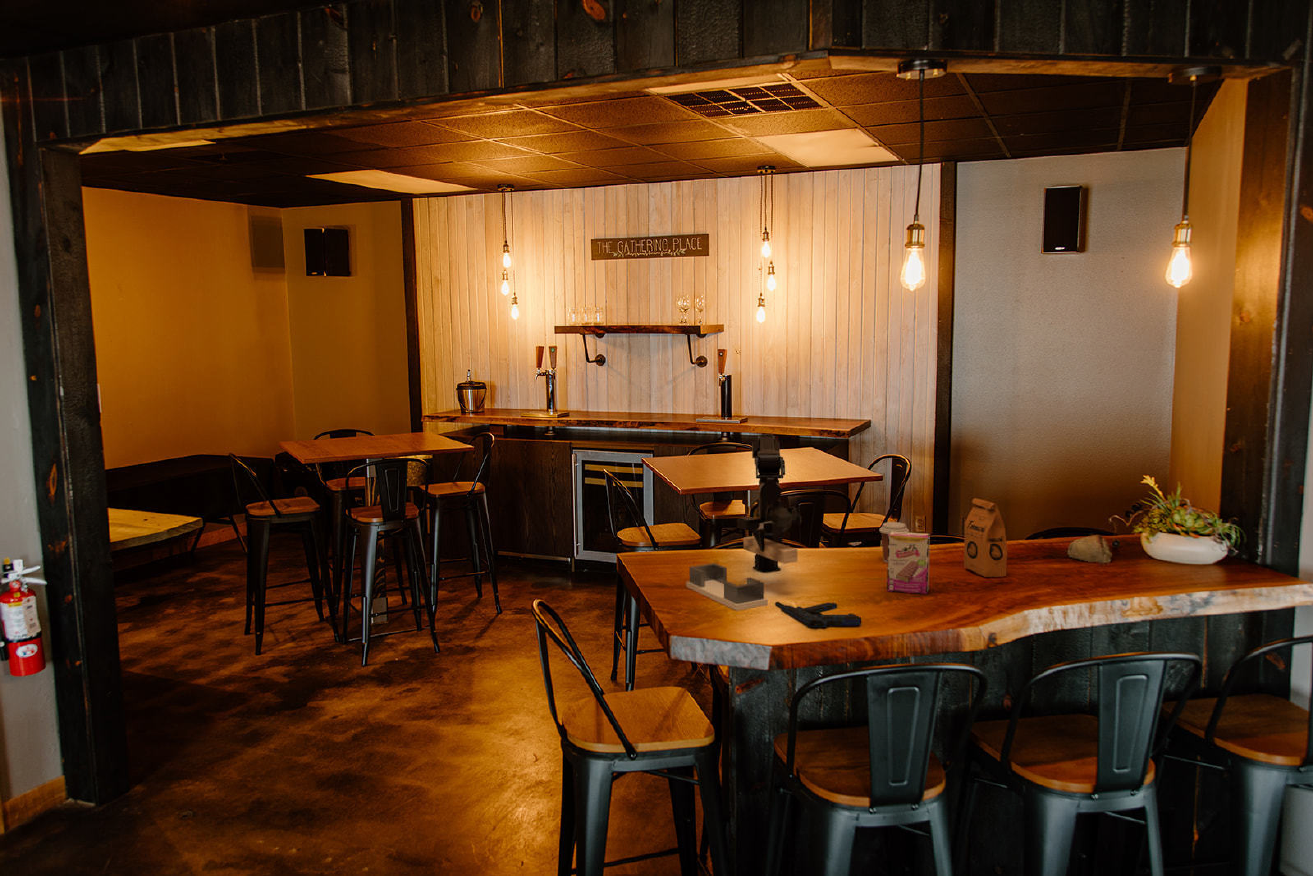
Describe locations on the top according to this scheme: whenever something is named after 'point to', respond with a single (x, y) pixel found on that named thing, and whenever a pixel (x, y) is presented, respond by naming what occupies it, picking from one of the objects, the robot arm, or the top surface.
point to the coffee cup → (885, 532)
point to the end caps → (727, 583)
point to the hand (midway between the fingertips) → (769, 550)
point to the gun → (820, 616)
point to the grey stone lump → (1090, 549)
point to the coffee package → (985, 540)
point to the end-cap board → (716, 593)
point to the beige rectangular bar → (771, 550)
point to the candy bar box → (908, 562)
